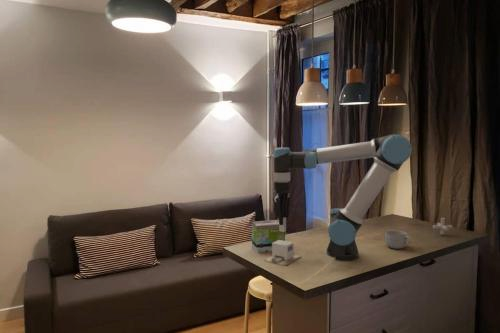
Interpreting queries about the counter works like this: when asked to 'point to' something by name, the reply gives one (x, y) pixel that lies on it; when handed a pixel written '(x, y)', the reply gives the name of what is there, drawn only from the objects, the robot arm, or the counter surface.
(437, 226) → the pipe connector
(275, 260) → the rail board
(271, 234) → the tea box
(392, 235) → the teacup
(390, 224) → the counter surface
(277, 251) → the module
